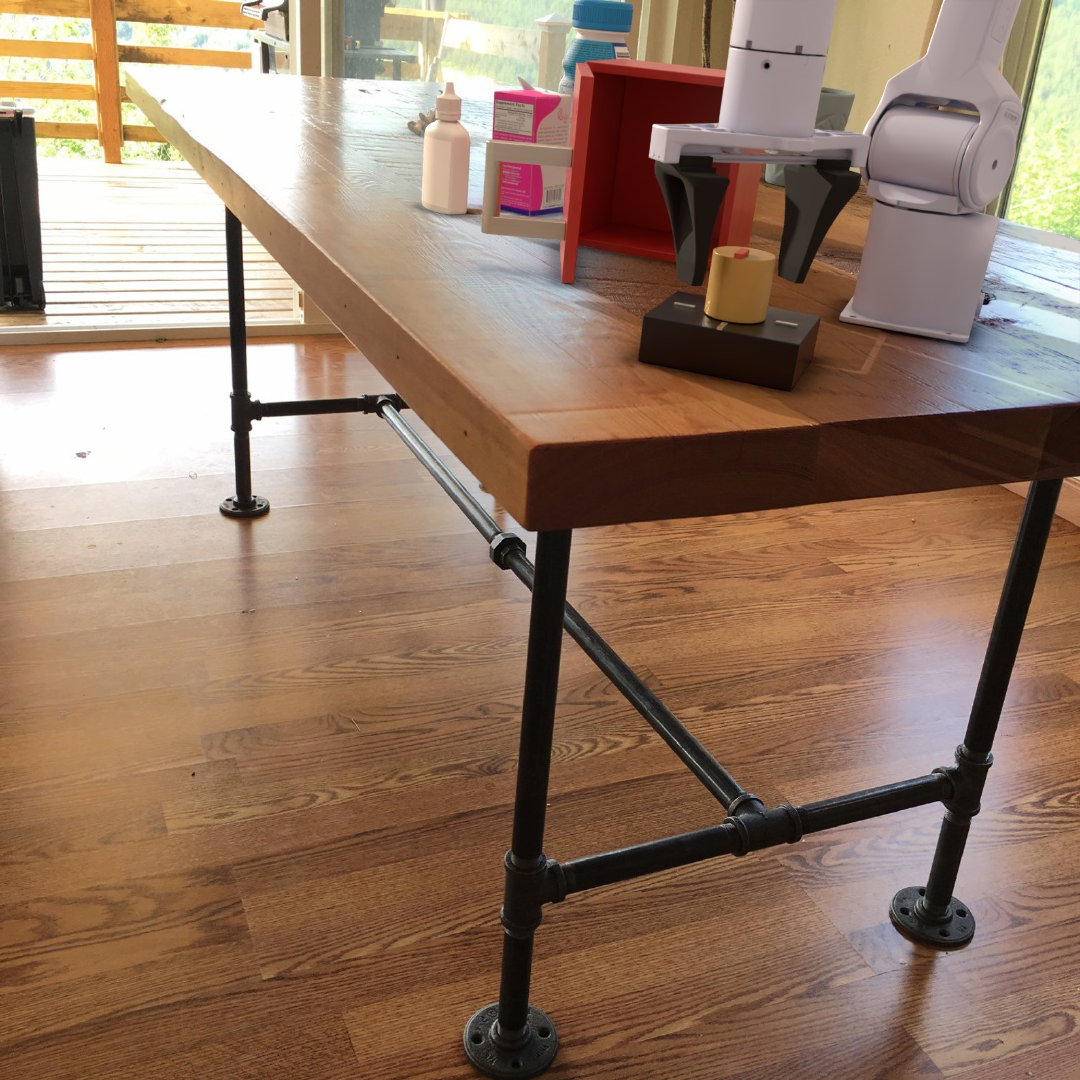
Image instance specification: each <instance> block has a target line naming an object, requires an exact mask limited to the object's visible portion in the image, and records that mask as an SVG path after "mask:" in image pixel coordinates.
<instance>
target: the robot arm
mask: <svg viewBox="0 0 1080 1080" xmlns="http://www.w3.org/2000/svg"><path fill="white" fill-rule="evenodd" d="M837 3H838V0H735V5H734V13H733V21H732V27H731V33H730V41H729V48H728V56H727V63H726V69H725V70H726V76H725V83H724V90H723V97H722V104H721V110H720V117H719V123H713V124H674V125H670V124H653V127H652V136H651V144H650V153H649V158H651V159H655V160H656V161H655V175H656V177H657V180H658V182H659V185H660V187H661V190H662V193H663V196H664V199H665V202H666V205H667V209H668V213H669V217H670V221H671V226H672V231H673V237H674V245H675V253H676V262H675V264H676V278H677V280H679V281H681V282H683V283H685V284H687V285H689V286H690V287H702V286H703V284H704V281H705V278H706V274H707V271H708V270H707V269H708V268H707V264H708V258H709V251H710V244H711V238H712V233H713V229H714V225H715V221H716V218H717V215H718V212H719V208H720V206H721V203H722V200H723V197H724V195H725V192H726V190H727V188H728V185H729V183H730V180H729V179H728V177H725V176H722V175H719V174H716V170H717V168H716V167H712V164H713V162H721V163H762V164H765V165H767V164H786V165H785V166H784V180H785V187H784V215H783V216H784V218H783V228H782V234H781V239H780V245H779V253H778V259H777V262H778V263H777V276H778V277H779V278H782V279H783V280H784V279H785V280H786V281H788V282H790V283H793V284H795V285H796V284H800V285H801V284H804V282H805V280H806V277H807V276H808V274H809V270H810V269H811V267H812V264H813V262H814V260H815V257H816V255H817V254H818V251H819V249H820V247H821V245H822V243H823V241H824V239H825V238H826V235H827V234H828V232H829V231H830V229H831V227H832V226H833V224H834V222H835V221H836V220H837V218H838V216H839V215H840V213H841V212H842V211H843V209H844V208H845V207H846V205H848V203H849V202H850V200H851V199H853V197H854V196H855V195H856V194H857V193H858V191H859V190H860V188H861V187H860V186H861V183H862V181H863V183H864V185H866V186H867V189H866V193H865V196H866V197H870V198H873V203H872V208H871V212H870V217H869V222H868V225H867V231H866V236H865V241H864V246H863V250H862V255H861V260H860V265H859V270H858V274H857V279H856V284H855V288H854V293H853V296H852V297H851V298H850V299H849V301H848V303H847V304H846V305H845V307H844V308H843V310H842V311H841V312H840V314H839V317H838V320H839V321H840V322H843V323H850V324H855V325H860V326H866V327H871V328H877V329H881V330H888V331H893V332H900V333H905V334H910V335H916V336H921V337H928V338H932V339H933V338H934V339H939V340H945V341H950V342H954V343H962V344H967V343H968V342H969V340H970V335H971V331H972V328H973V324H974V320H975V318H979V317H980V315H981V312H982V308H983V304H984V301H985V297H986V293H985V292H982V289H983V286H984V282H985V278H986V275H987V271H988V267H989V263H990V259H991V255H992V251H993V249H994V248H993V247H994V243H995V239H996V237H997V232H998V229H999V228H998V227H999V224H1000V220H1001V218H1000V217H999V216H996V215H991V214H984V213H979V212H983V211H984V209H985V207H988V205H990V204H991V202H993V201H994V200H995V199H997V197H998V196H999V195H1000V194H1001V192H1002V191H1003V189H1004V188H1005V186H1006V185H1007V182H1008V181H1009V178H1010V177H1011V174H1012V171H1013V167H1014V164H1015V160H1016V154H1017V140H1018V134H1019V130H1020V127H1021V123H1022V119H1023V114H1024V111H1025V110H1024V106H1023V104H1022V102H1021V100H1020V97H1019V96H1018V94H1017V93H1016V92H1015V90H1014V88H1013V87H1012V86H1011V84H1010V83H1009V82H1008V81H1007V80H1006V78H1005V77H1004V75H1003V74H1002V73H1001V71H1000V69H999V68H1000V65H1001V61H1002V59H1003V56H1004V53H1005V50H1006V47H1007V44H1008V41H1009V39H1010V35H1011V33H1012V29H1013V27H1014V23H1015V20H1016V18H1017V15H1018V12H1019V8H1020V5H1021V3H1022V0H943V1H942V3H941V6H940V10H939V12H938V16H937V19H936V22H935V26H934V29H933V32H932V35H931V38H930V41H929V44H928V46H927V50H926V54H925V55H924V56H923V57H922V58H920V59H919V60H917V61H915V62H914V63H912V64H911V65H909V66H907V67H906V68H904V69H902V70H901V71H899V72H898V73H897V74H895V75H893V76H892V77H890V79H888V80H887V82H886V84H885V87H884V91H883V93H882V96H881V98H880V100H879V102H878V105H877V106H876V109H875V110H874V112H873V114H872V116H871V117H870V118H869V120H868V121H867V123H866V125H865V127H864V129H863V130H862V131H863V132H862V133H861V132H856V131H850V130H849V131H848V130H845V131H832V130H820V129H814V127H815V121H816V116H817V110H818V104H819V99H820V93H821V88H822V87H823V82H824V76H825V71H826V65H827V59H828V56H827V55H828V54H829V48H830V43H831V37H832V31H833V27H834V21H835V15H836V9H837V5H838V4H837ZM933 107H939V108H948V109H954V110H960V111H961V110H962V111H968V112H974V113H979V115H976V114H971V113H970V114H969V113H964V112H956V111H949V110H942V109H937V108H933ZM744 149H756V150H765V151H783V152H792V153H795V154H801V155H795V154H768V153H764V154H758V153H742V152H744ZM723 151H726V152H730V153H722V152H723ZM851 168H855V169H857V168H858V169H859V172H857V171H853V170H850V169H851Z"/></svg>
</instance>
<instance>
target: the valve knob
mask: <svg viewBox="0 0 1080 1080" xmlns="http://www.w3.org/2000/svg"><path fill="white" fill-rule="evenodd" d="M776 264H777V256H776V255H775V254H773V253H771V252H769V251H766V250H762V249H758V248H752V247H749V248H747V247H736V246H724V247H717V248H715V249H714V250H713V256H712V262H711V268H709V277H708V283H707V289H706V295H705V296H706V302H705V308H704V312H705V313H706V314H707V315H709V316H711V317H713V318H716V319H719V320H723V321H728V322H734V323H759V322H762V321H764V320H765V319H766V314H767V308H768V307H769V302H770V297H771V290H772V287H773V286H772V285H773V280H774V275H775V269H776Z"/></svg>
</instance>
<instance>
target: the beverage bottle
mask: <svg viewBox="0 0 1080 1080" xmlns="http://www.w3.org/2000/svg"><path fill="white" fill-rule="evenodd" d="M572 7H573V8H572V20H571V22H572V23H571V26H572V30H573V31H577V33H576V35H575V37H574V38H573V39H572V41H571V42H570V44H569V45H568V47H567V49H566V50H565V52H564V55H563V57H562V61H561V67H562V69H563V76H562V78H561V79H560V81H559V83H558V94H567V95H571V110H570V124H569V138H570V127H571V116H572V105H573V94H574V83H575V72H576V63H585V64H586V61H595V60H609V59H632V60H633V58H632V55H631V52H630V49H629V47H628V44H627V42H626V41H625V36H630V33H631V31H632V24H633V16H634V5H633V3H631V2H625V1H616V0H574V2H573V6H572ZM568 146H569V140H568ZM566 171H567V169H566Z"/></svg>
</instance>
